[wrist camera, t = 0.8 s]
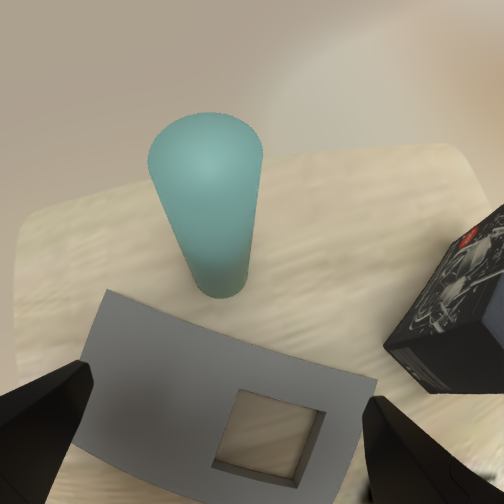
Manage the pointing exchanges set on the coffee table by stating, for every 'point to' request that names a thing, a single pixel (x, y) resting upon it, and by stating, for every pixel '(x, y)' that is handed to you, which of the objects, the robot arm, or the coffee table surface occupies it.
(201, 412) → the socket plate
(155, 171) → the peg
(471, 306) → the small box
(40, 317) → the coffee table surface
